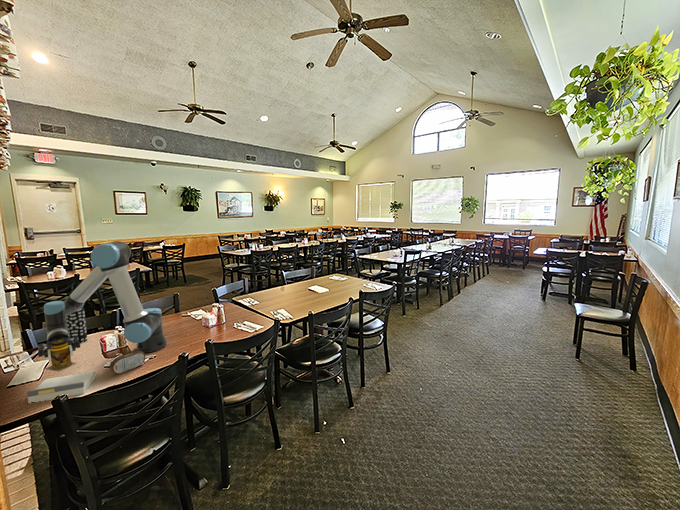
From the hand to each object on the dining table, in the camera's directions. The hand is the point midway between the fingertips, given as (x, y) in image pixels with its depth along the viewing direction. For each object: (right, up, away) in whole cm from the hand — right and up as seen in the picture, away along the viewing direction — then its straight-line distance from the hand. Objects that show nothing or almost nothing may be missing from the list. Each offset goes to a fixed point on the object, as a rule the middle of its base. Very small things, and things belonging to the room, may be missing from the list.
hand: (60, 355), depth 124 cm
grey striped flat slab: (-4, -17, +6) cm, 18 cm away
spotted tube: (-40, -10, +53) cm, 67 cm away
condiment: (-4, -7, +4) cm, 9 cm away
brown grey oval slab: (+13, -15, +23) cm, 30 cm away
